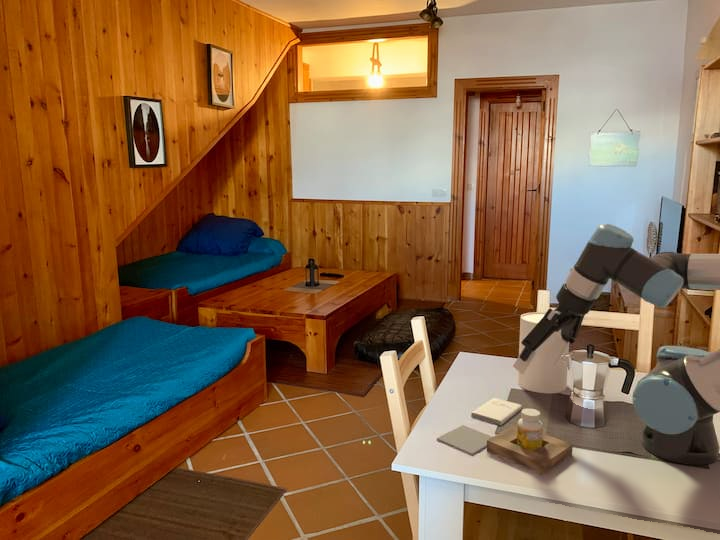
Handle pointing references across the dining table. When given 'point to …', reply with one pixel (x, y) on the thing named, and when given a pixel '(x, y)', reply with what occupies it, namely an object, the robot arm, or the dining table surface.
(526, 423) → the supplement bottle
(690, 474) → the dining table surface
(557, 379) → the canister
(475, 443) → the felt pad
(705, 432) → the robot arm
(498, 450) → the block
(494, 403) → the external hard drive
